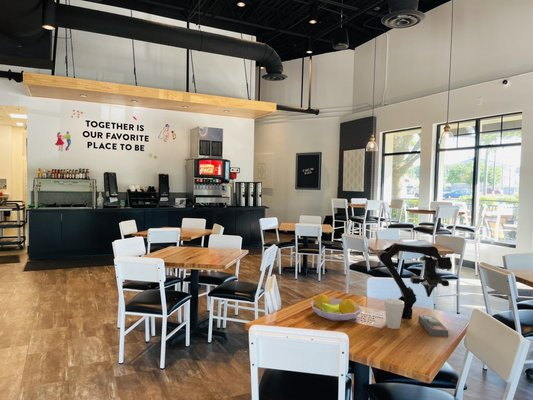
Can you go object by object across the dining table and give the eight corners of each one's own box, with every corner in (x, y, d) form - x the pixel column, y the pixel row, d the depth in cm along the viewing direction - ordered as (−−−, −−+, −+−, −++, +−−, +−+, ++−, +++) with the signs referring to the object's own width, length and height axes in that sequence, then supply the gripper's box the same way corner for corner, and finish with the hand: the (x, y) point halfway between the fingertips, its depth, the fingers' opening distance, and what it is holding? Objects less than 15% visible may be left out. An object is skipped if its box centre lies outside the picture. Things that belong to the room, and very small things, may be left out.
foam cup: (402, 324, 196) (404, 300, 195) (402, 331, 187) (404, 305, 186) (383, 322, 199) (384, 297, 198) (382, 328, 190) (384, 302, 189)
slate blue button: (425, 322, 198) (425, 318, 198) (423, 319, 202) (423, 316, 202) (433, 322, 198) (433, 319, 197) (430, 319, 202) (431, 316, 201)
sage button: (429, 325, 191) (430, 321, 191) (427, 322, 195) (427, 318, 195) (438, 325, 191) (438, 322, 190) (435, 322, 195) (435, 319, 194)
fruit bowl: (335, 305, 223) (336, 286, 222) (371, 320, 200) (372, 299, 200) (297, 312, 207) (298, 292, 207) (332, 330, 185) (333, 307, 184)
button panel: (430, 335, 183) (431, 329, 183) (418, 320, 203) (418, 315, 203) (448, 336, 182) (448, 330, 182) (434, 321, 202) (434, 316, 202)
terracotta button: (434, 332, 184) (434, 328, 184) (431, 329, 188) (432, 325, 188) (443, 333, 184) (443, 329, 184) (440, 329, 188) (440, 326, 188)
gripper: (415, 270, 200) (413, 299, 201) (453, 273, 197) (451, 302, 198) (410, 266, 211) (409, 293, 212) (446, 268, 208) (444, 296, 209)
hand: (428, 296), depth 207 cm, fingers closed
